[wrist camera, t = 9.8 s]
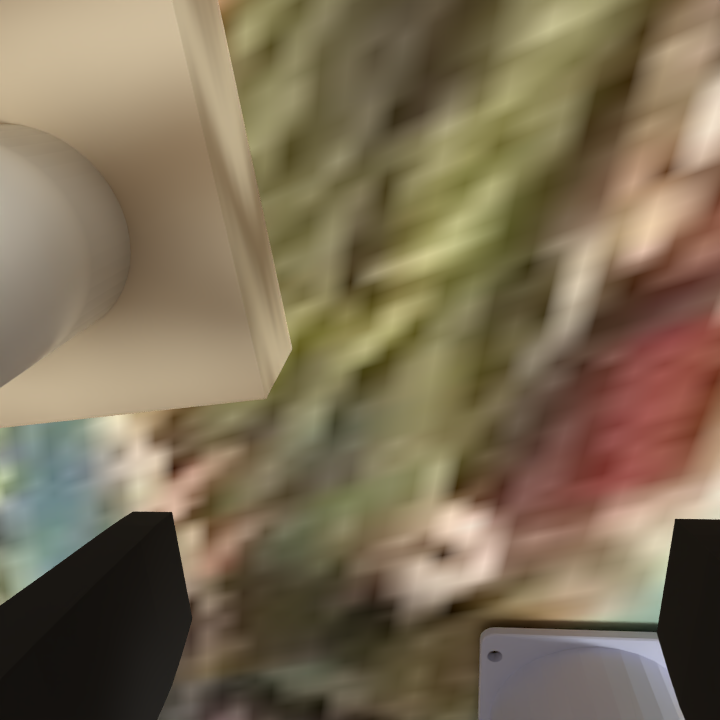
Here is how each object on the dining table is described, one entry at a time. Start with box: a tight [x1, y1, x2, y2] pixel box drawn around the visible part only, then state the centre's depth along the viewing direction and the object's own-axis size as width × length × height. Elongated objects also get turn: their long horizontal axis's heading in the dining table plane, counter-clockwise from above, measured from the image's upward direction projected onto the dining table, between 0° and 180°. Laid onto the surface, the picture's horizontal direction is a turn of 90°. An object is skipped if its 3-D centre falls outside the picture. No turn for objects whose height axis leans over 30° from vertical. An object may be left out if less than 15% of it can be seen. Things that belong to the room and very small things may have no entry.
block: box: [0, 0, 292, 428], centre depth 17 cm, size 10×10×4 cm
